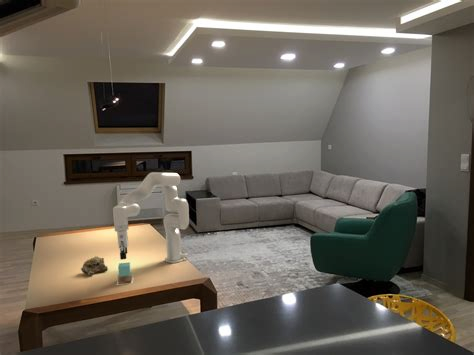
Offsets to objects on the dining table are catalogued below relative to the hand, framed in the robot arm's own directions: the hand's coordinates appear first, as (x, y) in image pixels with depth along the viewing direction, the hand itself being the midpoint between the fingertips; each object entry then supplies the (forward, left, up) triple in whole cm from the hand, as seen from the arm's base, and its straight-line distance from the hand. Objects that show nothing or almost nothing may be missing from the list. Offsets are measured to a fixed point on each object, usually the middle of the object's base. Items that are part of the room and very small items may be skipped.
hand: (124, 256), depth 226 cm
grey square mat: (0, 0, -16) cm, 16 cm away
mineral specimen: (+20, -23, -16) cm, 34 cm away
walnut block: (0, 0, -15) cm, 15 cm away
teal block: (0, 0, -11) cm, 11 cm away
